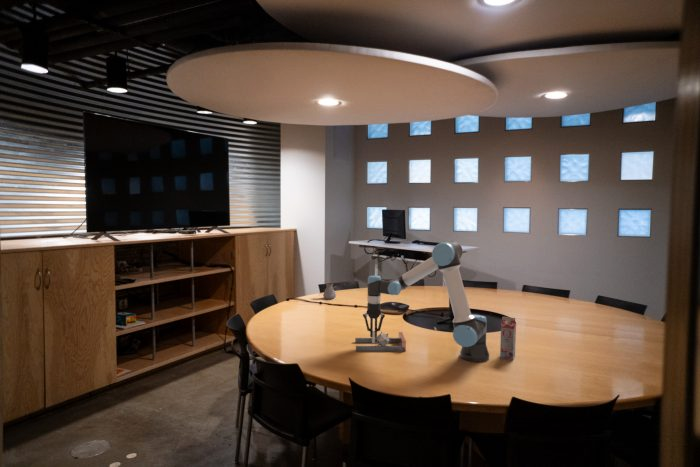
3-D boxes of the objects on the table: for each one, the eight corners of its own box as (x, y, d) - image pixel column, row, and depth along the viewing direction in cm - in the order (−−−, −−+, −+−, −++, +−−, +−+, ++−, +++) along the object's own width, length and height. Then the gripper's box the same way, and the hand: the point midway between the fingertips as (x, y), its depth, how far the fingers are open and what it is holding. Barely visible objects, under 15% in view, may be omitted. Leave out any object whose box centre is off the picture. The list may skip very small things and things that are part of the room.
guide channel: (405, 351, 247) (405, 340, 247) (355, 351, 247) (355, 340, 246) (401, 341, 264) (402, 332, 263) (355, 341, 264) (355, 332, 263)
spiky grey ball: (381, 353, 254) (375, 342, 249) (377, 344, 261) (370, 333, 256) (395, 346, 254) (389, 334, 249) (390, 337, 261) (384, 325, 257)
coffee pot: (320, 299, 384) (320, 282, 383) (327, 296, 394) (327, 280, 393) (342, 301, 374) (342, 284, 373) (348, 299, 384) (348, 282, 383)
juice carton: (513, 360, 233) (514, 319, 232) (500, 358, 237) (501, 317, 235) (515, 356, 239) (516, 316, 238) (502, 354, 242) (503, 315, 241)
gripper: (384, 301, 257) (384, 340, 259) (362, 301, 257) (362, 340, 259) (385, 304, 250) (385, 344, 251) (362, 303, 250) (362, 344, 251)
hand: (373, 342), depth 255 cm, fingers closed
